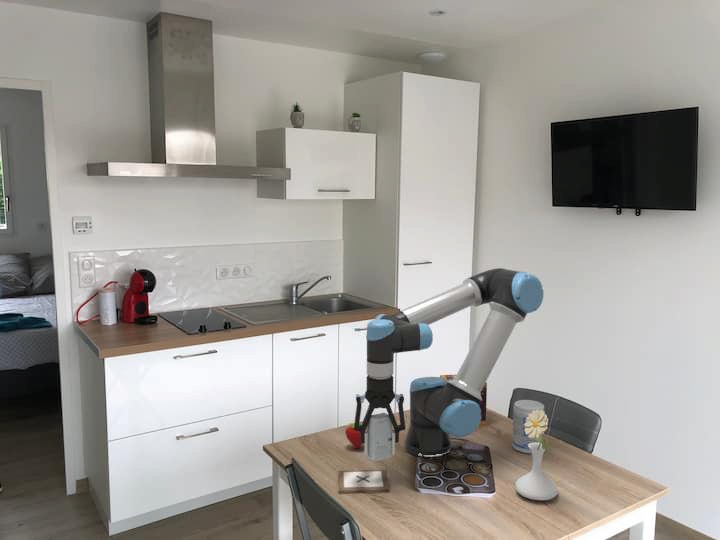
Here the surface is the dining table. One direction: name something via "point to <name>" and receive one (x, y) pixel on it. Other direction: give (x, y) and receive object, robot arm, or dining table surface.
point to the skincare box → (379, 437)
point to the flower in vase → (536, 461)
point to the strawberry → (353, 435)
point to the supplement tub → (519, 419)
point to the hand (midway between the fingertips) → (379, 453)
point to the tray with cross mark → (363, 481)
